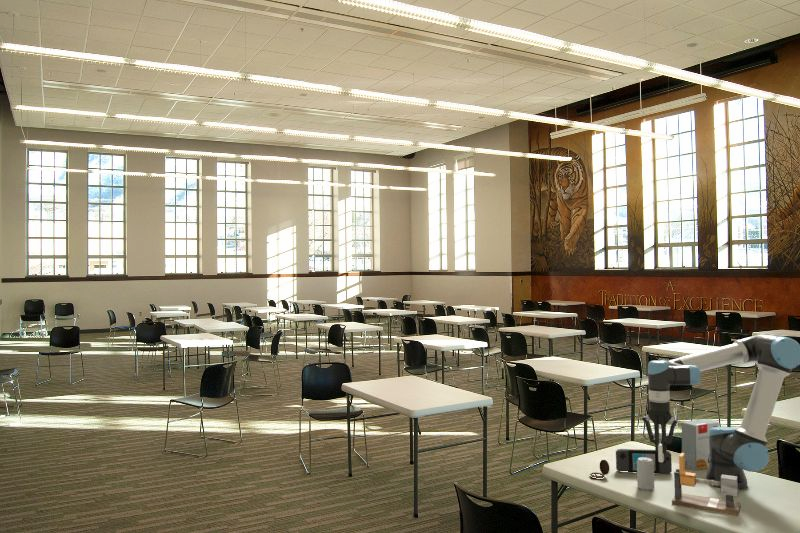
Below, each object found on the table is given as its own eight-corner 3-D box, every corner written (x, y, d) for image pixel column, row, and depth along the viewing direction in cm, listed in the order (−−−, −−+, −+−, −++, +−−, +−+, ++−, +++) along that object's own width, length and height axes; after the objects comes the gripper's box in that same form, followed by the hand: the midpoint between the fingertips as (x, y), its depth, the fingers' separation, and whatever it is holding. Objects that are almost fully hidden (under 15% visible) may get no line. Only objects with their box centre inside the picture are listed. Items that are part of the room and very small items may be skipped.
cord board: (676, 496, 236) (675, 465, 237) (740, 506, 224) (739, 474, 224) (671, 504, 228) (670, 472, 228) (738, 516, 216) (737, 482, 216)
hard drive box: (696, 471, 265) (694, 425, 266) (681, 466, 272) (680, 422, 273) (720, 465, 272) (719, 421, 272) (706, 461, 279) (704, 418, 279)
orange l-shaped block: (682, 481, 233) (681, 452, 233) (696, 483, 230) (695, 454, 230) (679, 485, 229) (678, 456, 229) (694, 487, 226) (693, 458, 226)
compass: (586, 476, 262) (586, 459, 262) (602, 474, 264) (601, 457, 265) (597, 482, 255) (596, 464, 255) (613, 480, 257) (612, 462, 257)
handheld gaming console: (617, 473, 266) (616, 450, 266) (616, 471, 268) (615, 448, 269) (672, 474, 262) (671, 451, 262) (670, 472, 264) (669, 449, 264)
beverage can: (637, 490, 244) (636, 460, 244) (637, 485, 250) (636, 456, 250) (654, 491, 241) (653, 461, 242) (654, 486, 248) (653, 457, 248)
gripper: (639, 400, 236) (641, 461, 235) (675, 404, 229) (677, 466, 228) (643, 397, 242) (645, 456, 242) (679, 400, 235) (681, 461, 234)
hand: (661, 461), depth 235 cm, fingers closed
